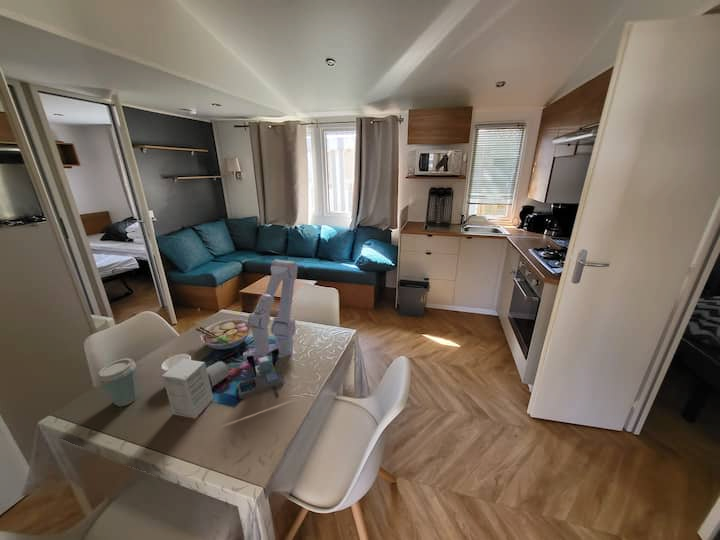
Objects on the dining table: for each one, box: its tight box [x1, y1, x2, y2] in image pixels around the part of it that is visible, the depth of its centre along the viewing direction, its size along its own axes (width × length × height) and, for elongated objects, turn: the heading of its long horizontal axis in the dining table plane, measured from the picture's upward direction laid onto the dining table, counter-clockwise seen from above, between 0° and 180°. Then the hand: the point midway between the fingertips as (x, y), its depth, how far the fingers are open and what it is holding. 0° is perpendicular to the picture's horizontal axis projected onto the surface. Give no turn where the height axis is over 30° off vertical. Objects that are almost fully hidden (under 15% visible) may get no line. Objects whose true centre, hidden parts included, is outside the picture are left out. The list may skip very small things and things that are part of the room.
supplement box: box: [161, 359, 214, 419], centre depth 96 cm, size 10×9×17 cm
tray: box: [255, 361, 276, 377], centre depth 116 cm, size 7×7×2 cm
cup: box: [160, 353, 192, 374], centre depth 109 cm, size 10×10×9 cm
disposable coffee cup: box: [96, 357, 139, 407], centre depth 99 cm, size 11×11×15 cm
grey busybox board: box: [237, 369, 284, 400], centre depth 106 cm, size 12×16×3 cm
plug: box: [257, 355, 271, 375], centre depth 115 cm, size 4×4×6 cm
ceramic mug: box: [206, 360, 230, 389], centre depth 111 cm, size 11×8×8 cm
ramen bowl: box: [195, 318, 252, 350], centre depth 134 cm, size 25×23×8 cm
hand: (264, 367), depth 115 cm, fingers open, 7 cm apart
